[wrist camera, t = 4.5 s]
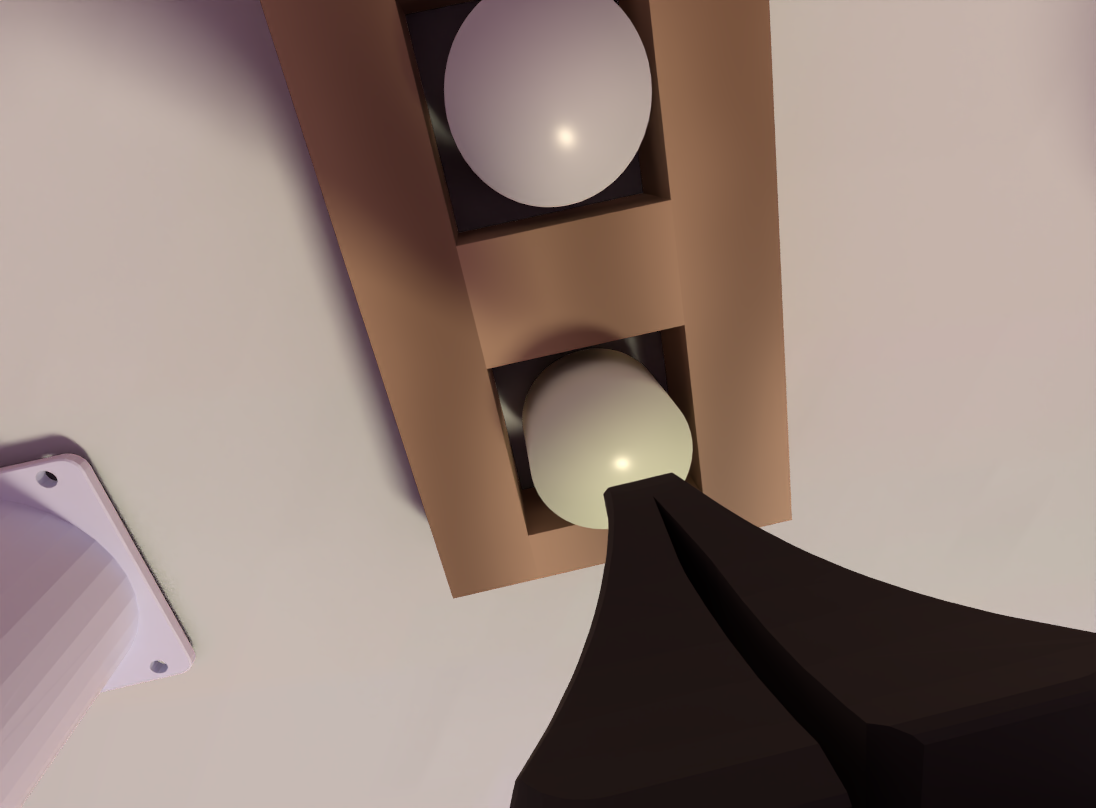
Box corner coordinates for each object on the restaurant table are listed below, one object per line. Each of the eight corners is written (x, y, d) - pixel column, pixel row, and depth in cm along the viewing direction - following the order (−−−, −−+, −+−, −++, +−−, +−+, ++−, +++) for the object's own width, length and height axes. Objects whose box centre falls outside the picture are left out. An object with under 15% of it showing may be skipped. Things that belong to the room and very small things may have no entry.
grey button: (472, 213, 15) (472, 225, 13) (428, 25, 13) (418, -3, 11) (633, 178, 15) (663, 184, 13) (608, -12, 14) (637, -47, 11)
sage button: (537, 492, 18) (547, 544, 16) (508, 366, 17) (514, 403, 14) (670, 462, 18) (700, 509, 16) (653, 334, 17) (683, 364, 14)
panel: (455, 546, 20) (453, 598, 18) (102, -598, 10) (-2, -809, 8) (755, 477, 20) (791, 519, 18) (674, -697, 11) (728, -927, 8)
